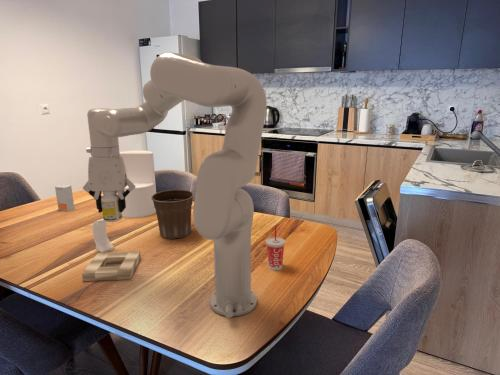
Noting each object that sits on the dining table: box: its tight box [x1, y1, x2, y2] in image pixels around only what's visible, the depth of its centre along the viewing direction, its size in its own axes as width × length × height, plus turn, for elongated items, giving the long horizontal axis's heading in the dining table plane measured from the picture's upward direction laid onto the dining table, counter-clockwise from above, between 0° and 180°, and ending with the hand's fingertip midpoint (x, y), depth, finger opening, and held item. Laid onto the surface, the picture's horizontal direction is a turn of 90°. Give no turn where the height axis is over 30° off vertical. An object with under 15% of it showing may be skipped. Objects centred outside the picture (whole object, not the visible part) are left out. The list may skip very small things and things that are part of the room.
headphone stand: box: [91, 218, 115, 253], centre depth 126 cm, size 5×6×12 cm
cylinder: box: [119, 150, 157, 219], centre depth 164 cm, size 17×17×28 cm
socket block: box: [81, 250, 142, 282], centre depth 113 cm, size 14×14×2 cm
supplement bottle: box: [101, 191, 123, 223], centre depth 106 cm, size 5×5×10 cm
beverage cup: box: [265, 225, 286, 271], centre depth 112 cm, size 6×6×14 cm
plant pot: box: [151, 189, 195, 240], centre depth 139 cm, size 16×16×16 cm
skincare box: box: [54, 184, 75, 212], centre depth 169 cm, size 6×4×12 cm
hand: (111, 210), depth 107 cm, fingers closed on supplement bottle, 5 cm apart
